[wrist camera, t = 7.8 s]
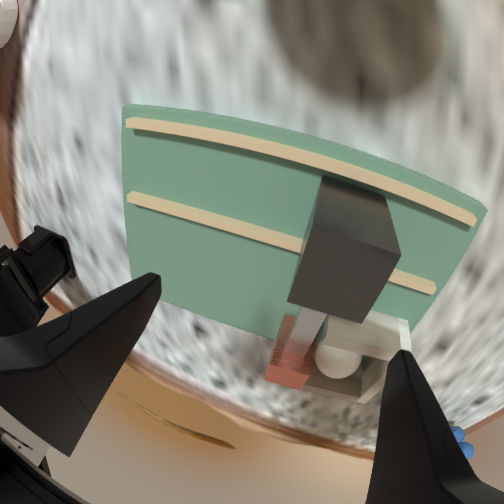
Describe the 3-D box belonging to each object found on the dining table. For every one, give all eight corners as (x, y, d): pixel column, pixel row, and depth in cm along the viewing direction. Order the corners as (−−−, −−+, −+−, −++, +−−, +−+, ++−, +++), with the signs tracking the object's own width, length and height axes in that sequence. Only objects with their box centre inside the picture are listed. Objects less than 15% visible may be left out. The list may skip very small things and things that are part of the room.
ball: (326, 394, 21) (299, 358, 24) (358, 374, 23) (333, 343, 26) (345, 370, 19) (314, 331, 22) (379, 349, 21) (349, 315, 24)
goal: (367, 362, 27) (365, 404, 23) (303, 345, 28) (294, 387, 24) (406, 310, 22) (412, 357, 18) (332, 288, 23) (326, 335, 19)
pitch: (380, 358, 26) (380, 375, 25) (139, 281, 29) (129, 293, 28) (481, 202, 15) (492, 215, 14) (132, 104, 19) (115, 108, 17)
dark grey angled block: (315, 342, 25) (303, 404, 20) (272, 329, 25) (252, 390, 20) (384, 195, 16) (401, 255, 11) (322, 174, 17) (312, 226, 12)
